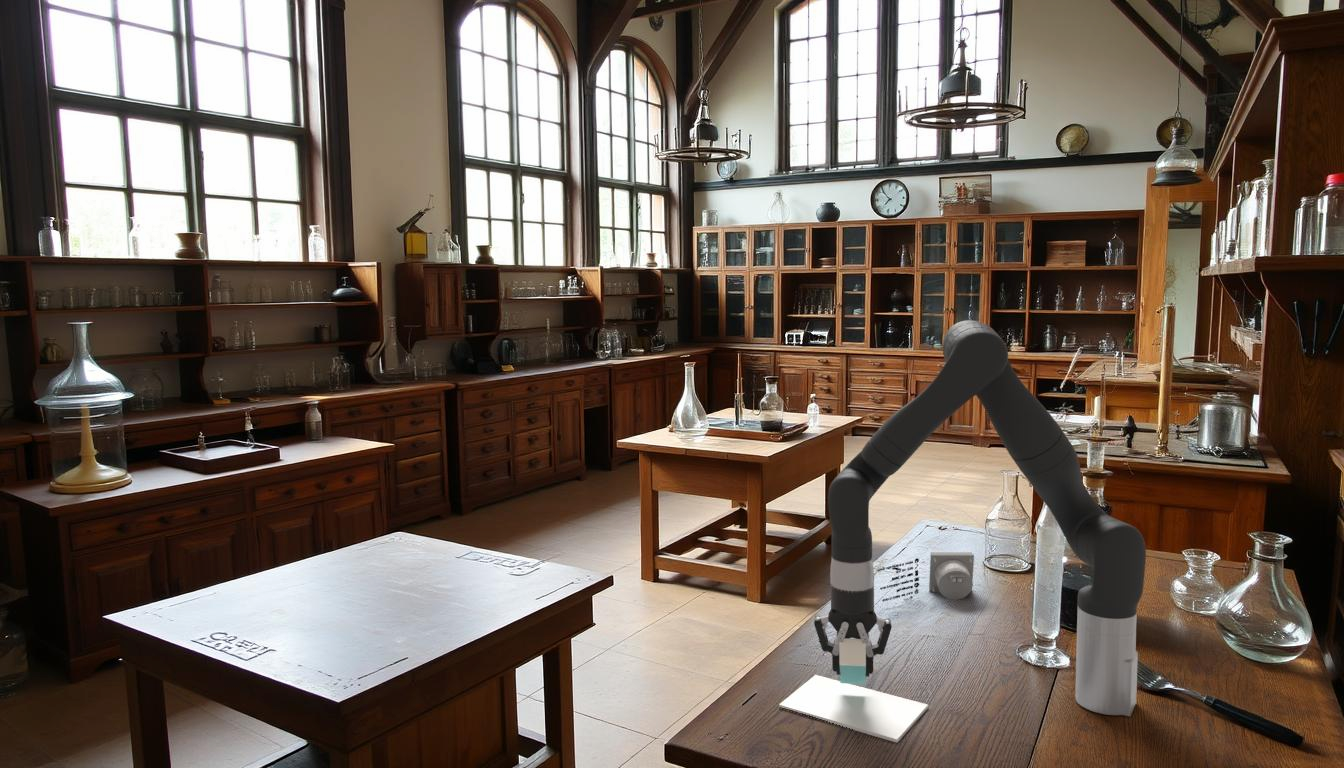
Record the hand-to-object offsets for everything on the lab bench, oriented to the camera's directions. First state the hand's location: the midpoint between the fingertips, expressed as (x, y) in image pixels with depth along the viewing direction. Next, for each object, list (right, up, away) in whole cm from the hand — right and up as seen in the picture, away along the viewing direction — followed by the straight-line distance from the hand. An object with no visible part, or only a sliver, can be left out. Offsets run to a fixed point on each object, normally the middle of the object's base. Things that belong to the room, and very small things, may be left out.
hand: (853, 673), depth 158 cm
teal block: (+1, -1, +4) cm, 5 cm away
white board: (0, -6, -2) cm, 6 cm away
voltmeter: (+27, +1, +49) cm, 56 cm away
